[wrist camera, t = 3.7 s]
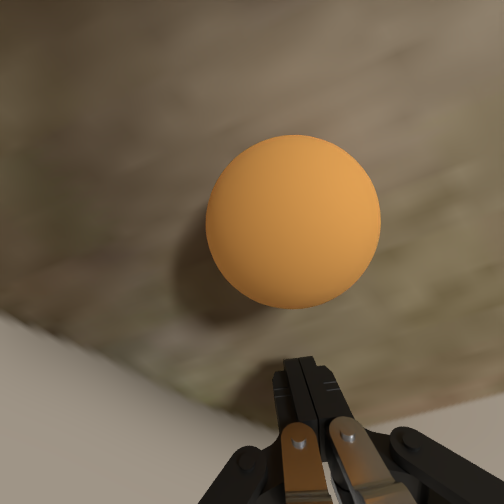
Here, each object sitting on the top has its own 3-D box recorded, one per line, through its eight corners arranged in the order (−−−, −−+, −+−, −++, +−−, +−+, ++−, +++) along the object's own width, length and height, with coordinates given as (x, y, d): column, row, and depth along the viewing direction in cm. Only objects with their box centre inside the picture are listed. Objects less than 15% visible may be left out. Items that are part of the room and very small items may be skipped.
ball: (204, 153, 12) (170, 131, 6) (339, 138, 12) (436, 102, 6) (223, 279, 13) (211, 359, 8) (340, 265, 13) (417, 333, 8)
